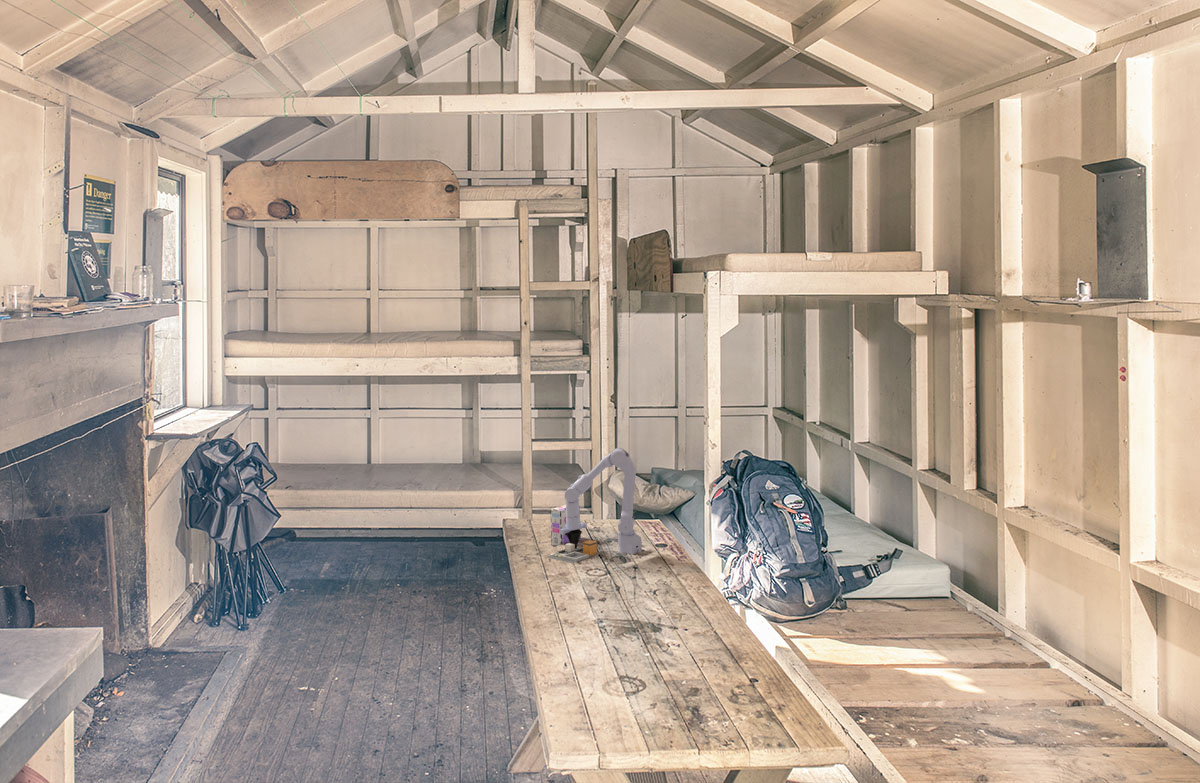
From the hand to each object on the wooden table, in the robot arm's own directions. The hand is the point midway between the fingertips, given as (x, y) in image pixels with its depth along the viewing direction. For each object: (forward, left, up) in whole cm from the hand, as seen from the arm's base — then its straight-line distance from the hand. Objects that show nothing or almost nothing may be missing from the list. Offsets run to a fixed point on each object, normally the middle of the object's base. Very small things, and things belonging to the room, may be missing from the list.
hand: (573, 547), depth 391 cm
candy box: (+15, -11, -3) cm, 19 cm away
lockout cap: (-9, -1, -1) cm, 9 cm away
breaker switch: (0, +2, -1) cm, 3 cm away
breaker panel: (-5, +5, -3) cm, 7 cm away
